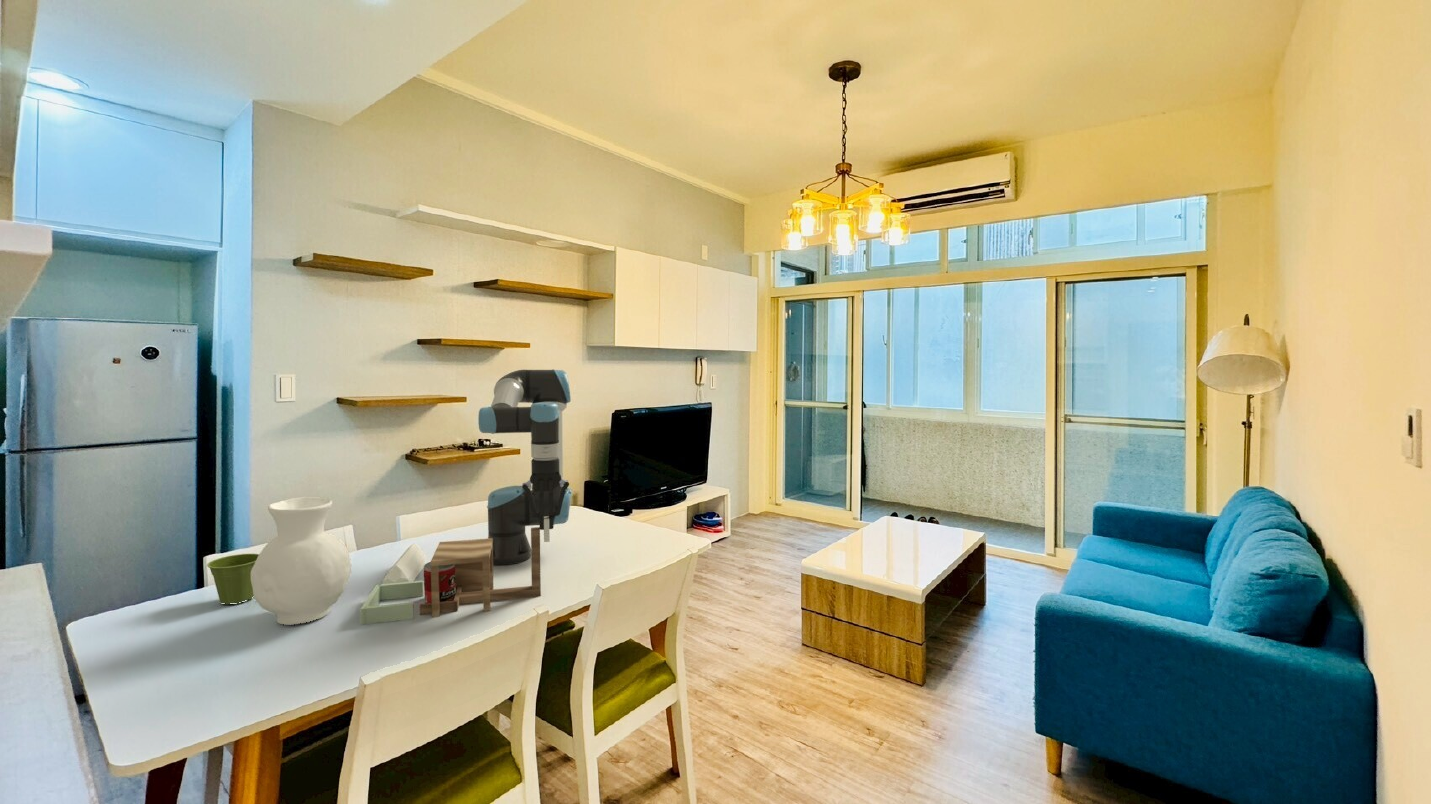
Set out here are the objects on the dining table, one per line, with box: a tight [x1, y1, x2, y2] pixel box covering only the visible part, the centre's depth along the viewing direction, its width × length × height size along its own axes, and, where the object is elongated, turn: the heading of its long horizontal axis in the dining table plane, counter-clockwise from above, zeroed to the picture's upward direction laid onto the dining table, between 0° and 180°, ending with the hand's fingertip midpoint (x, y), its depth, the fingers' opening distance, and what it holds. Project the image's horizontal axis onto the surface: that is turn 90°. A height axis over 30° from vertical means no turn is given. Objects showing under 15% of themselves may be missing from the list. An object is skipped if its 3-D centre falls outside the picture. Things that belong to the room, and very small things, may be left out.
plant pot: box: [206, 553, 260, 605], centre depth 165 cm, size 12×12×11 cm
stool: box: [430, 537, 494, 618], centre depth 166 cm, size 16×14×15 cm
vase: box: [251, 496, 352, 626], centre depth 154 cm, size 19×21×30 cm
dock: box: [359, 580, 424, 625], centre depth 161 cm, size 16×12×4 cm
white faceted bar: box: [382, 543, 428, 584], centre depth 184 cm, size 7×7×24 cm
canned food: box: [423, 561, 456, 604], centre depth 164 cm, size 8×8×11 cm
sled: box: [419, 526, 542, 616], centre depth 167 cm, size 12×30×19 cm, turn 107°
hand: (546, 540), depth 172 cm, fingers closed
